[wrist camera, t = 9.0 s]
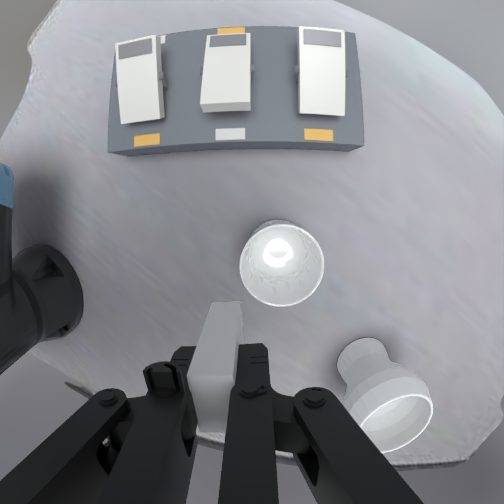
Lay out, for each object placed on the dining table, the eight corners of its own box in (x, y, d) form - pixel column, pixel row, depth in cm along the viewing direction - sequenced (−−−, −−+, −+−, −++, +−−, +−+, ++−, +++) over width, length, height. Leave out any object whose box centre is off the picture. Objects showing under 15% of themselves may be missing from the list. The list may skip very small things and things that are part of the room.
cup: (337, 397, 42) (359, 467, 28) (318, 346, 40) (341, 417, 26) (398, 370, 41) (438, 431, 27) (386, 316, 39) (435, 373, 25)
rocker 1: (123, 122, 29) (117, 125, 27) (118, 45, 24) (111, 44, 22) (168, 116, 28) (163, 118, 27) (164, 36, 24) (158, 33, 22)
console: (127, 156, 36) (98, 151, 28) (132, 61, 33) (108, 39, 25) (349, 151, 35) (370, 143, 27) (342, 52, 32) (359, 26, 24)
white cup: (240, 270, 39) (233, 299, 29) (251, 209, 37) (247, 216, 27) (301, 281, 39) (313, 312, 29) (314, 221, 37) (332, 233, 27)
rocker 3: (293, 112, 28) (295, 113, 26) (293, 29, 23) (294, 25, 22) (344, 115, 28) (349, 116, 26) (344, 34, 23) (349, 30, 22)
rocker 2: (198, 112, 26) (195, 103, 24) (205, 44, 26) (202, 34, 24) (255, 110, 26) (254, 100, 24) (254, 42, 26) (254, 31, 24)
